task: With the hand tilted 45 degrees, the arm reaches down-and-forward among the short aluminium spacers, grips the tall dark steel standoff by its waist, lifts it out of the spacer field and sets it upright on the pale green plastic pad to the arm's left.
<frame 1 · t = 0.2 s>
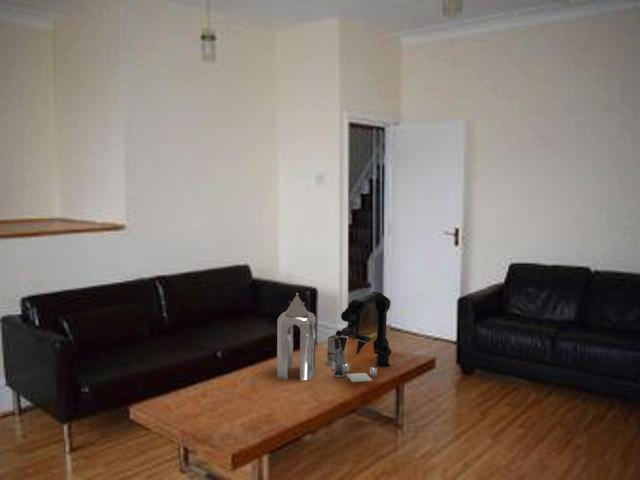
hand: (349, 352, 306), 15 cm above the table, tool tilted 15°, fingers open, 9 cm apart
coffee box: (335, 363, 335), on the table
spacer a: (345, 371, 322), on the table
pad: (359, 378, 311), on the table
spacer c: (373, 375, 316), on the table
spacer b: (335, 369, 324), on the table
standoff: (338, 376, 313), on the table
grey metal tall arch: (296, 374, 316), on the table
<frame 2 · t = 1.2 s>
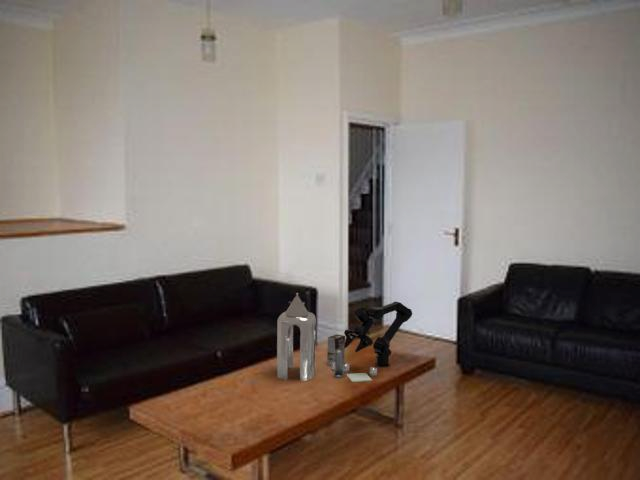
hand: (350, 349, 317), 13 cm above the table, tool tilted 45°, fingers open, 9 cm apart
nothing on the table moved.
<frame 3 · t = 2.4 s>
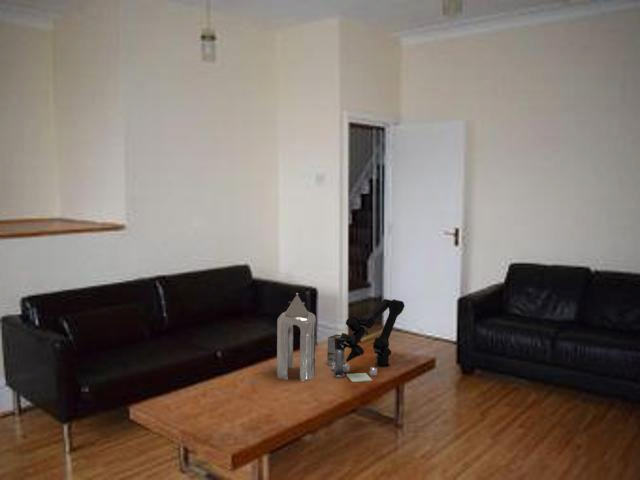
hand: (341, 359, 313), 9 cm above the table, tool tilted 45°, fingers open, 9 cm apart
nothing on the table moved.
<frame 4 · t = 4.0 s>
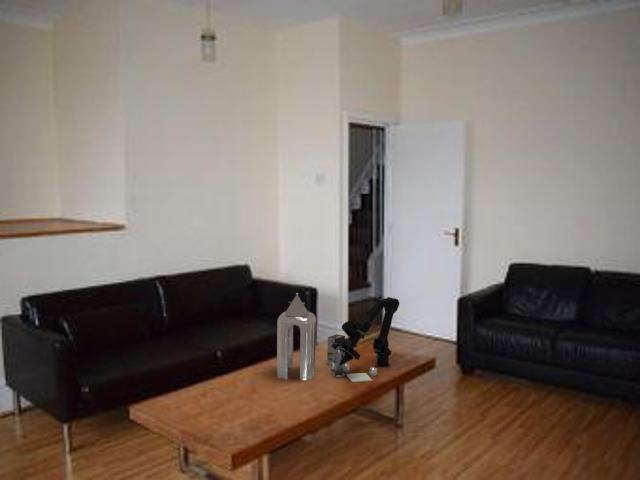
hand: (337, 363, 312), 7 cm above the table, tool tilted 45°, fingers closed on standoff, 4 cm apart
standoff: (338, 376, 313), on the table, touching gripper
everything else where it was.
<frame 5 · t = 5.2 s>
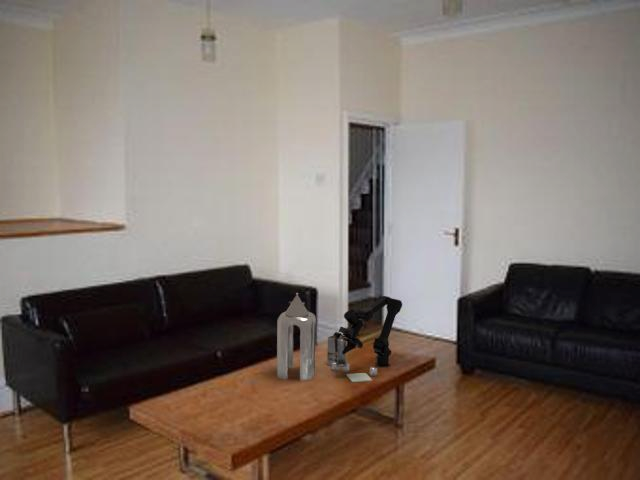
hand: (339, 352, 311), 13 cm above the table, tool tilted 45°, fingers closed on standoff, 4 cm apart
standoff: (341, 365, 312), point 6 cm above the table, touching gripper
everything else where it was.
when the fingers open (9 cm above the table, at t = 6.9 s): standoff drops 1 cm, resting on pad.
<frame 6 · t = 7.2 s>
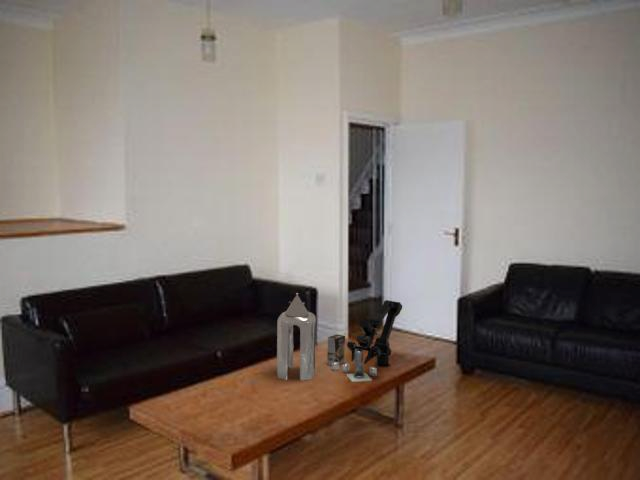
hand: (358, 362, 309), 9 cm above the table, tool tilted 45°, fingers open, 7 cm apart
standoff: (359, 376, 311), point 1 cm above the table, touching pad
everything else where it was.
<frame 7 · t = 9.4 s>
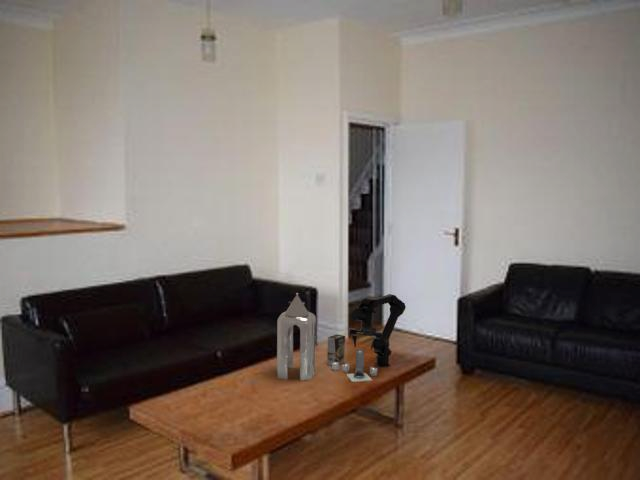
hand: (363, 348, 321), 13 cm above the table, tool pointing down, fingers open, 9 cm apart
nothing on the table moved.
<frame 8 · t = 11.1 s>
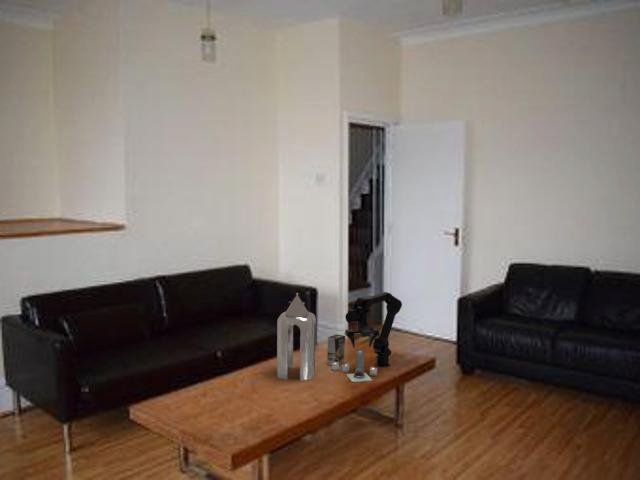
hand: (361, 347, 322), 13 cm above the table, tool pointing down, fingers open, 9 cm apart
nothing on the table moved.
at the end: standoff inside the target area on the pad (0.1 cm from its centre), point 0.7 cm above the pad's base; standoff tilted 1°; the gripper is holding nothing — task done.
